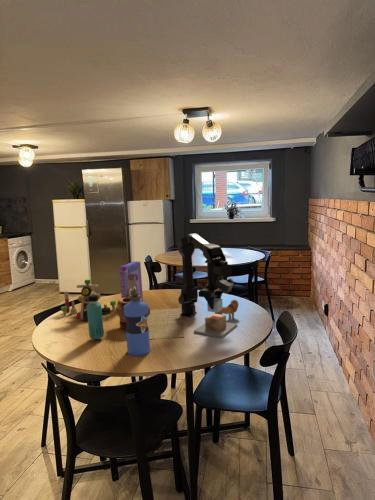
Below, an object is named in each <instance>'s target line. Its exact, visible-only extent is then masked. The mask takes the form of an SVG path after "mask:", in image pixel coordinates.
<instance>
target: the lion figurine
mask: <svg viewBox="0 0 375 500" xmlns="http://www.w3.org/2000/svg"><path fill="white" fill-rule="evenodd" d="M238 308H239V302H238V300H237V299H232V300H231V301H230V303H229V304H228V305H227V306H223V309H222V310H221V311H219V312H218V313H217V312H214V314H221V315H228V318H229V319H232V320H235V319H236V318H235V313H237V311H238Z"/></svg>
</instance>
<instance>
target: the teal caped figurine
mask: <svg viewBox="0 0 375 500" xmlns="http://www.w3.org/2000/svg"><path fill="white" fill-rule="evenodd" d="M88 301H89V302H92V303H89V304H88V305H87V315H88V321H87V326H88V327H87V328H88V336H89V339H90V340H99V339H101V338H103V337H104V335H105V329H104V322H103V321H104V320H103V317H104V316H103V315H104V314H103V313H102V303H100V302H98V301H99V299H98V296H97V295H91V296H89V297H88ZM94 301H97V302H94Z"/></svg>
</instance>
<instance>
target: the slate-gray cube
mask: <svg viewBox="0 0 375 500" xmlns="http://www.w3.org/2000/svg"><path fill="white" fill-rule="evenodd" d="M206 304H207V312H210V313H215V312H217V313H218V312H219V311H221V310H222V309H223V307H224V306H223V298H221V299H220V298H214V309H211V308H210V306H209V305H208V303H207V302H206Z"/></svg>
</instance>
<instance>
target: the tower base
mask: <svg viewBox="0 0 375 500" xmlns="http://www.w3.org/2000/svg"><path fill="white" fill-rule="evenodd" d="M237 327H238V323H234V322H228V321H227V314H222V315H221V314H215V312H211V314H209V315H207V316H206V317H204V324H202V325H200V326H199V327H197V328H196V329H194V330H193V333H194V334H197V335H203V336H208V337H212V338H213V337H214V338H219V339H223V338H224V337H226V336H227V335H228V334H229V333H231V331H233V330H234V329H235V328H237Z"/></svg>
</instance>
